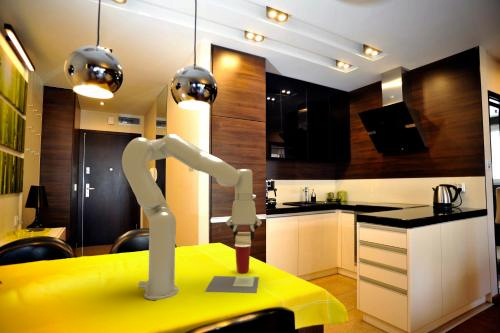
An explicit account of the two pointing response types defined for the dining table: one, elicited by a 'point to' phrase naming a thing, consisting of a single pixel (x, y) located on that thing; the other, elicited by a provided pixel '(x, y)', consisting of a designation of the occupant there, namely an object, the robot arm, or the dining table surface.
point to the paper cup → (242, 258)
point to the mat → (233, 284)
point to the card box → (243, 238)
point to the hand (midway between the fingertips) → (243, 240)
